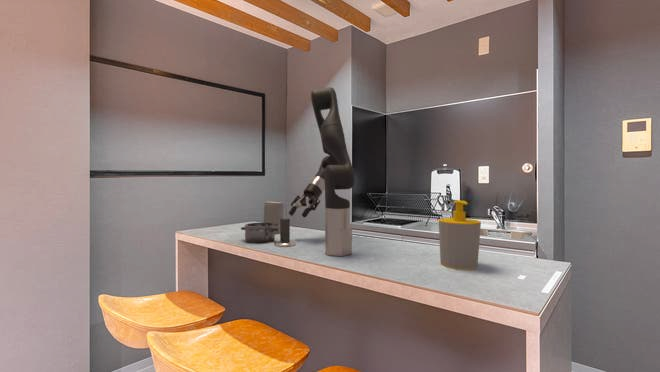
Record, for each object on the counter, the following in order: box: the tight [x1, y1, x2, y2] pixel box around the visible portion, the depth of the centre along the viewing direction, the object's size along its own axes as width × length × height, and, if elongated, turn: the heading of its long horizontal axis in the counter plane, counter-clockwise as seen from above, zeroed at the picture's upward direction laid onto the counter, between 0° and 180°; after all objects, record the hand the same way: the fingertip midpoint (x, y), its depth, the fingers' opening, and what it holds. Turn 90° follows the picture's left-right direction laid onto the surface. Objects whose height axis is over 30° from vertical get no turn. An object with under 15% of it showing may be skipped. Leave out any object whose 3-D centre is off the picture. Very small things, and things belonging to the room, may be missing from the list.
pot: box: [240, 222, 279, 244], centre depth 154 cm, size 17×13×7 cm
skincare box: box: [262, 201, 285, 235], centre depth 174 cm, size 8×7×16 cm
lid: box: [273, 217, 297, 248], centre depth 145 cm, size 9×9×11 cm
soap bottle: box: [438, 199, 482, 271], centre depth 113 cm, size 13×13×21 cm
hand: (296, 215), depth 150 cm, fingers open, 8 cm apart
